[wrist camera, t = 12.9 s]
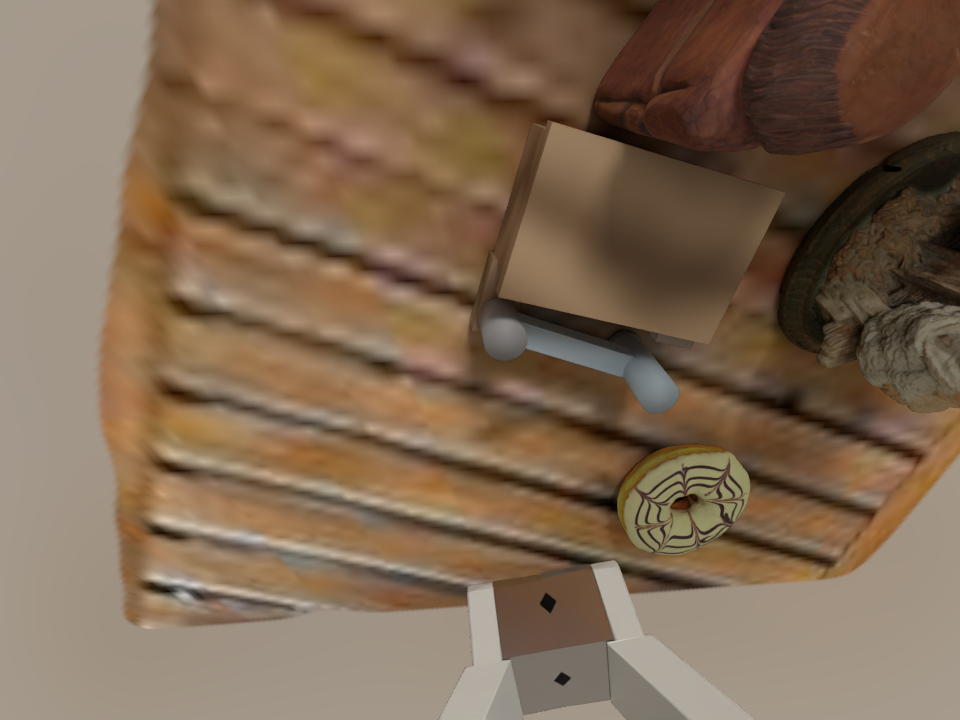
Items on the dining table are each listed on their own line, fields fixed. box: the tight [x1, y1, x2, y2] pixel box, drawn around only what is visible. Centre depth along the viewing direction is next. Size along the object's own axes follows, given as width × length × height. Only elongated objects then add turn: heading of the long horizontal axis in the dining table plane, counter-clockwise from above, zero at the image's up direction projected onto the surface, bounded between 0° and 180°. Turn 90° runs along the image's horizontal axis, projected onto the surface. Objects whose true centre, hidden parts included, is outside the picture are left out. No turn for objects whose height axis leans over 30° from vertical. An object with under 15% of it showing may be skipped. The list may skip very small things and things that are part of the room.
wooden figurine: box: [594, 0, 960, 155], centre depth 23 cm, size 12×6×18 cm, turn 143°
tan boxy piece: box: [470, 120, 786, 349], centre depth 33 cm, size 14×13×7 cm
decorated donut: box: [617, 444, 750, 556], centre depth 46 cm, size 10×11×4 cm
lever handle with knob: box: [478, 298, 679, 413], centre depth 35 cm, size 12×3×7 cm, turn 69°
